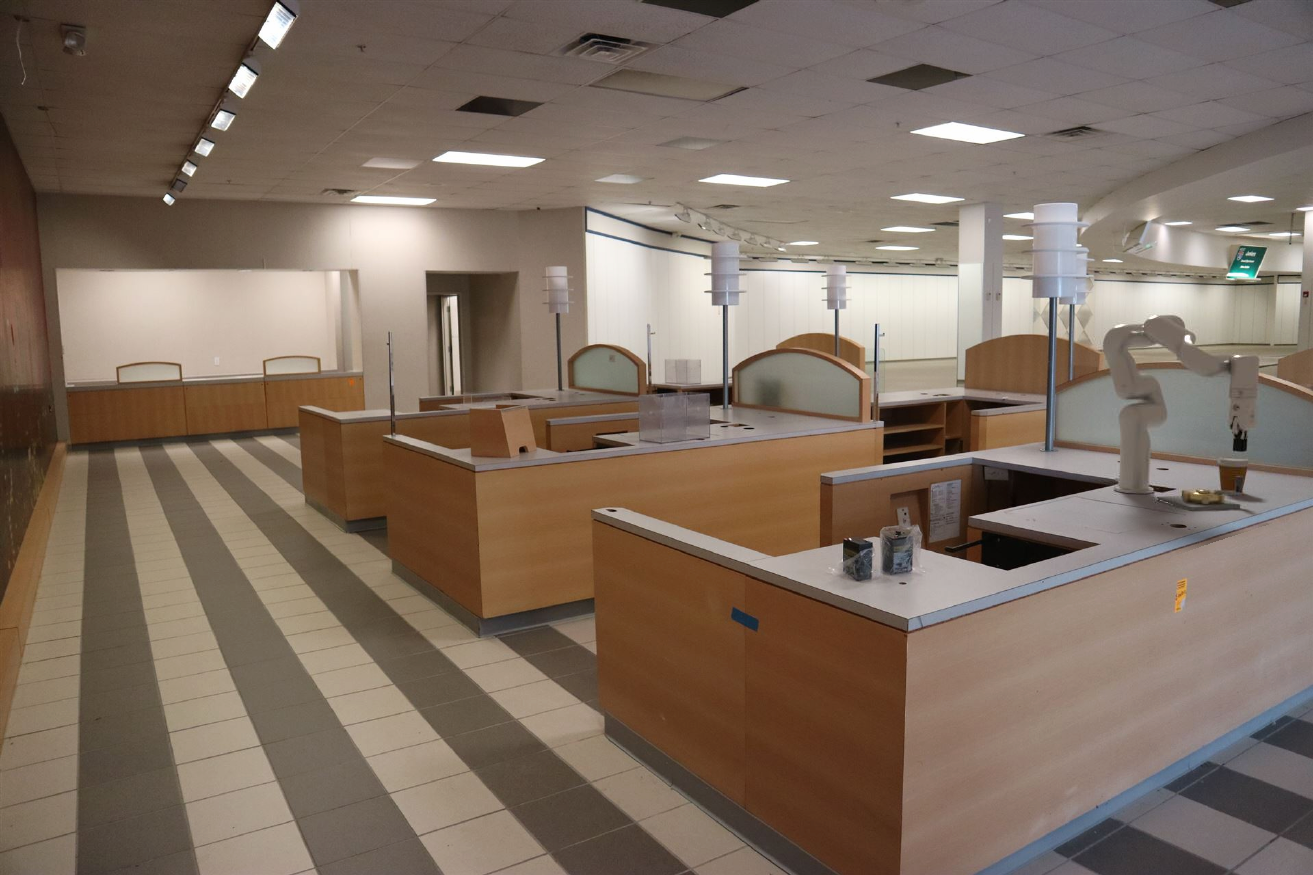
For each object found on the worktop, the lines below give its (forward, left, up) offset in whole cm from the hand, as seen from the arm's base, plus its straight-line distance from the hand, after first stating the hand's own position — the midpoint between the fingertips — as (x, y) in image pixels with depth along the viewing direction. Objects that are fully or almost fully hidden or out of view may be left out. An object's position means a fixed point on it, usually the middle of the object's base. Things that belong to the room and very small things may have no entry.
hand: (1239, 450), depth 286 cm
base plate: (-9, -6, -19) cm, 22 cm away
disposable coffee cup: (-24, +18, -19) cm, 36 cm away
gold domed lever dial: (-7, -3, -18) cm, 19 cm away
